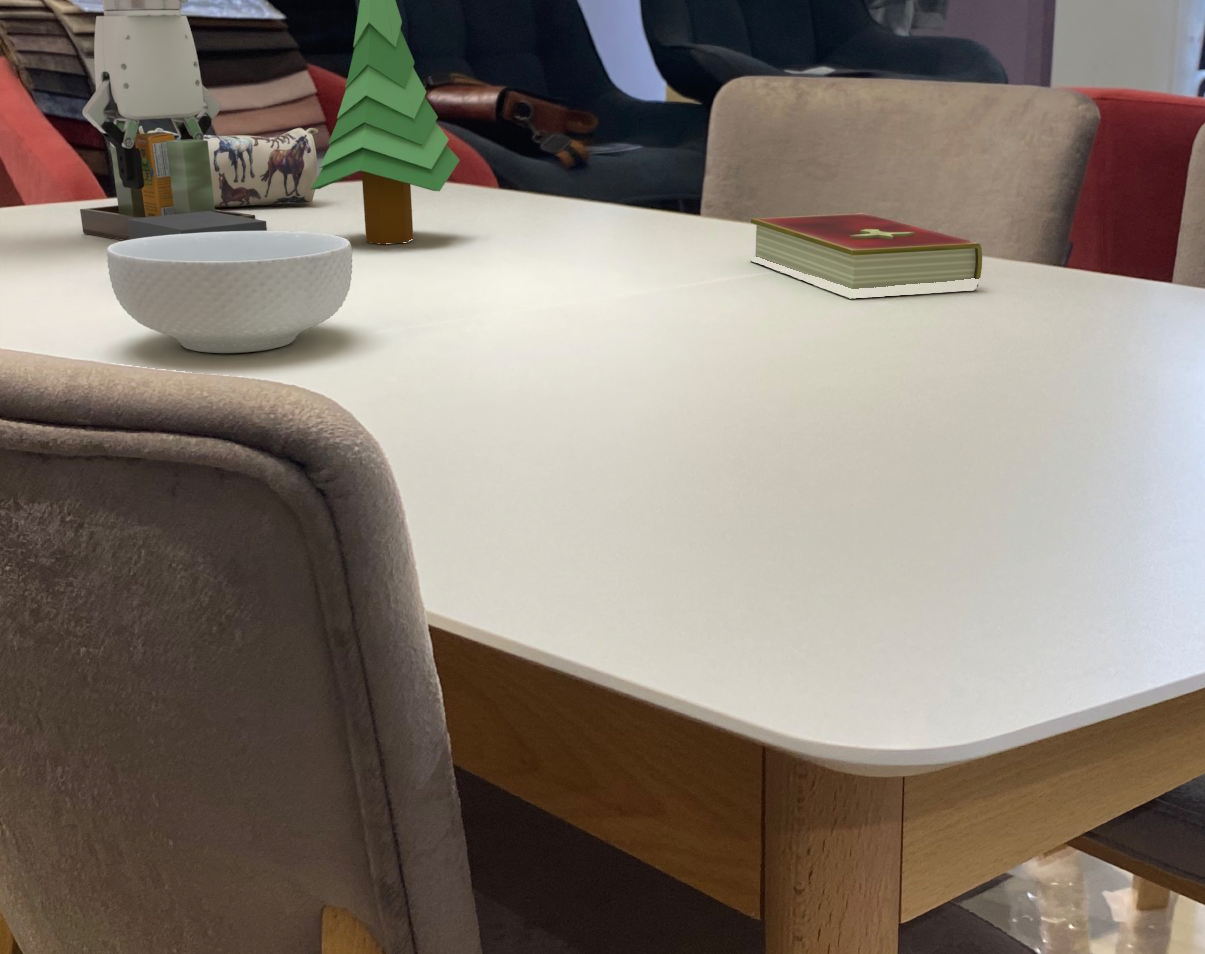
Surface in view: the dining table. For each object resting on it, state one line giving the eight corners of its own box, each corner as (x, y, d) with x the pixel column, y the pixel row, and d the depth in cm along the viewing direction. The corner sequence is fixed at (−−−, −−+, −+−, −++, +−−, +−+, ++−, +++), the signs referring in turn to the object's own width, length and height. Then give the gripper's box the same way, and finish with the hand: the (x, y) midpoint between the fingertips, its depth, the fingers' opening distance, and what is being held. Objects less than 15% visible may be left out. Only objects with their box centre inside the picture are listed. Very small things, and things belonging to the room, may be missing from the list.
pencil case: (142, 214, 172) (131, 128, 169) (142, 206, 180) (132, 124, 176) (327, 207, 178) (320, 124, 174) (320, 199, 186) (313, 119, 182)
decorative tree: (300, 250, 145) (273, -81, 133) (352, 230, 159) (332, -71, 148) (431, 253, 142) (414, -83, 131) (472, 232, 157) (460, -73, 145)
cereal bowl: (393, 351, 101) (387, 247, 98) (151, 379, 93) (137, 268, 90) (312, 312, 114) (304, 220, 112) (95, 334, 107) (82, 236, 104)
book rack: (181, 250, 146) (169, 145, 142) (83, 233, 158) (69, 136, 154) (257, 240, 152) (248, 139, 148) (157, 224, 164) (146, 131, 160)
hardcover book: (864, 254, 140) (867, 209, 138) (979, 290, 121) (984, 239, 120) (749, 261, 137) (751, 215, 135) (849, 299, 118) (853, 246, 116)
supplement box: (143, 231, 154) (131, 133, 151) (172, 228, 157) (161, 131, 153) (160, 234, 152) (148, 134, 148) (188, 231, 154) (178, 132, 151)
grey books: (197, 297, 121) (190, 231, 119) (125, 282, 128) (117, 219, 126) (290, 282, 127) (284, 219, 125) (216, 269, 134) (210, 209, 132)
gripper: (194, 1, 154) (212, 176, 161) (42, 1, 142) (69, 189, 149) (235, 0, 150) (252, 180, 156) (81, 0, 138) (107, 195, 144)
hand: (162, 183), depth 153 cm, fingers open, 6 cm apart
